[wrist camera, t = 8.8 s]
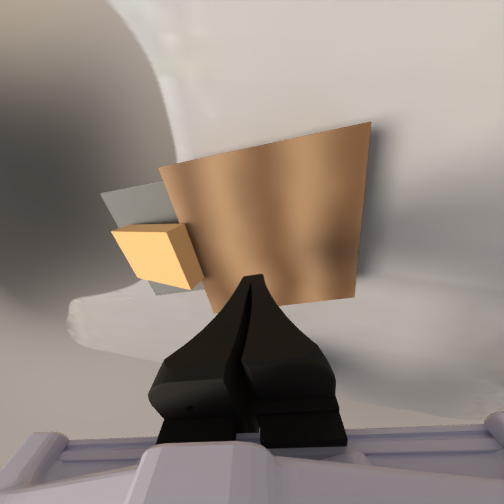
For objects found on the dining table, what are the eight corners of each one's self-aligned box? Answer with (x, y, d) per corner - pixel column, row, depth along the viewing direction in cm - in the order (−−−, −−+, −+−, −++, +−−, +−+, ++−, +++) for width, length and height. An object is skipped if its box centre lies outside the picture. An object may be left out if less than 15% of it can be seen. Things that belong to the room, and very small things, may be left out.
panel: (220, 291, 25) (214, 313, 21) (178, 165, 18) (158, 167, 14) (339, 276, 23) (354, 297, 20) (346, 129, 16) (371, 121, 12)
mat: (157, 293, 26) (156, 295, 25) (103, 192, 19) (100, 193, 19) (218, 285, 24) (217, 287, 24) (181, 176, 18) (180, 176, 18)
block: (152, 268, 23) (137, 277, 22) (129, 224, 20) (111, 231, 19) (204, 277, 19) (190, 290, 17) (184, 223, 16) (166, 232, 15)
